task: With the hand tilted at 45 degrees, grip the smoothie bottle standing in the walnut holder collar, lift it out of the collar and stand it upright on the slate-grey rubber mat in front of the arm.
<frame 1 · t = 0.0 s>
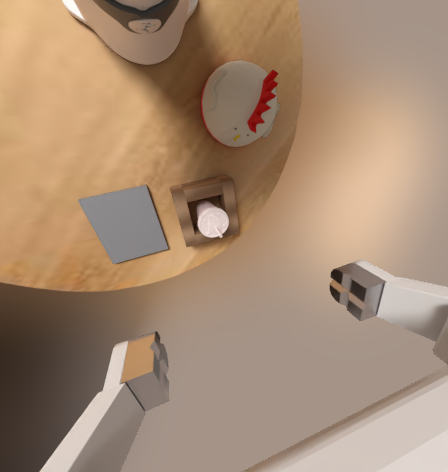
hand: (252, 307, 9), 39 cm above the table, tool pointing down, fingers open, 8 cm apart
rubber mat: (129, 225, 44), on the table
kitchen timer: (234, 108, 40), on the table
holder collar: (204, 207, 47), on the table
smoothie: (204, 207, 48), resting in holder collar
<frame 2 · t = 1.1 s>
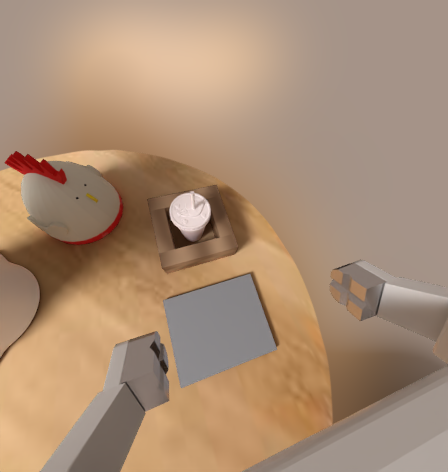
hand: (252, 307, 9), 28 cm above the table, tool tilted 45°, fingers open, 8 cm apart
rubber mat: (218, 324, 34), on the table
kitchen timer: (86, 211, 39), on the table
holder collar: (193, 232, 39), on the table
smoothie: (193, 233, 39), resting in holder collar
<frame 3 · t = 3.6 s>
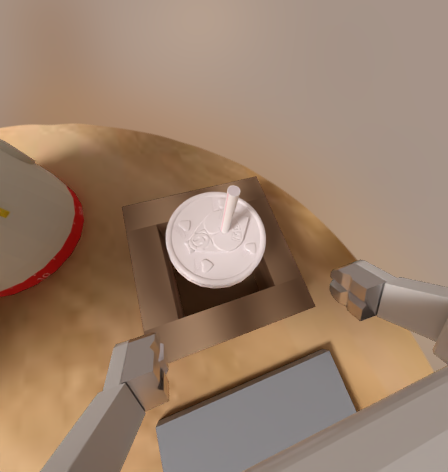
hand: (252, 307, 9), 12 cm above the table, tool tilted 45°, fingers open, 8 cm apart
kitchen timer: (15, 231, 21), on the table
holder collar: (212, 266, 21), on the table
smoothie: (212, 267, 21), resting in holder collar
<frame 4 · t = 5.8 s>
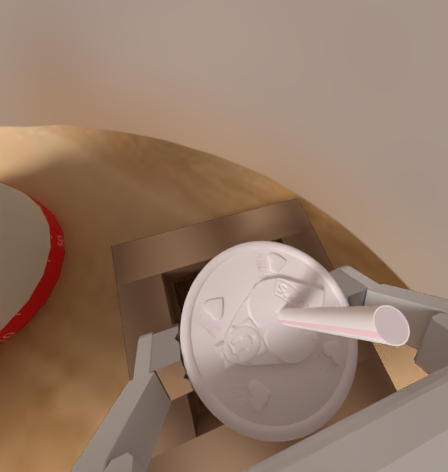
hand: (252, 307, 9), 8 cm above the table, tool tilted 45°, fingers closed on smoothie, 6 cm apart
holder collar: (234, 317, 16), on the table
smoothie: (234, 317, 16), resting in holder collar, touching gripper
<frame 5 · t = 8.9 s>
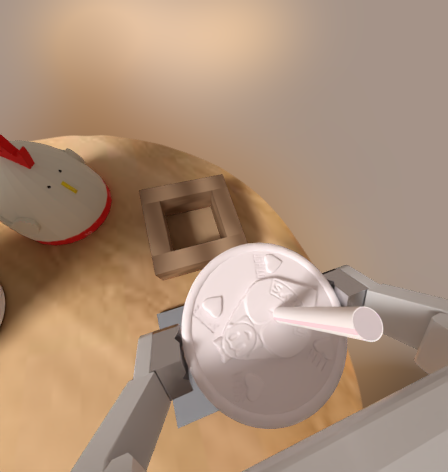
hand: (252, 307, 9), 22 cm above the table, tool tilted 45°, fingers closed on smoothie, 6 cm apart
rubber mat: (225, 343, 28), on the table
kitchen timer: (67, 206, 33), on the table
holder collar: (194, 231, 33), on the table
smoothie: (232, 314, 17), point 13 cm above the table, touching gripper
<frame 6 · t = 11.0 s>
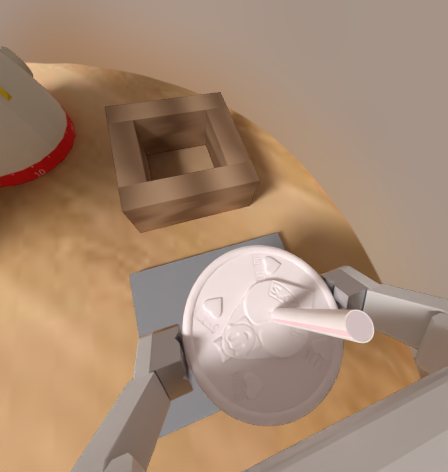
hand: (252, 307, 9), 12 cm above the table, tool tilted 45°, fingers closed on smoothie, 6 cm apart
rubber mat: (227, 315, 19), on the table
kitchen timer: (16, 141, 25), on the table
holder collar: (184, 173, 25), on the table
smoothie: (232, 314, 17), point 3 cm above the table, touching gripper
when the fingers open (10 cm above the table, at t = 12.4 s): smoothie stays where it is, resting on rubber mat.
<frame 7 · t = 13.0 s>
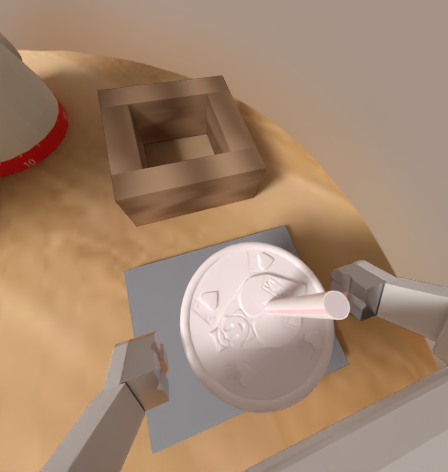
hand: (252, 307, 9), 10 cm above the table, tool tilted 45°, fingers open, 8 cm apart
rubber mat: (231, 315, 18), on the table
kitchen timer: (5, 131, 23), on the table
holder collar: (183, 164, 23), on the table
smoothie: (230, 313, 17), point 1 cm above the table, touching rubber mat
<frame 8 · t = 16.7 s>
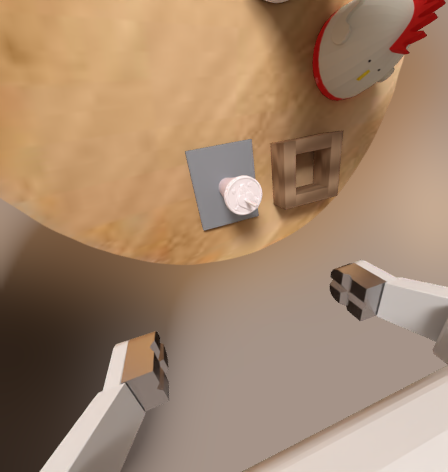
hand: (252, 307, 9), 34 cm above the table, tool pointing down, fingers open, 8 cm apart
rubber mat: (224, 186, 41), on the table
kitchen timer: (342, 58, 38), on the table
holder collar: (298, 169, 44), on the table
smoothie: (227, 186, 40), point 1 cm above the table, touching rubber mat
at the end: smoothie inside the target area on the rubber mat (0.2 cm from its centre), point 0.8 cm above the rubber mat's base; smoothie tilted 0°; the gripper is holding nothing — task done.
